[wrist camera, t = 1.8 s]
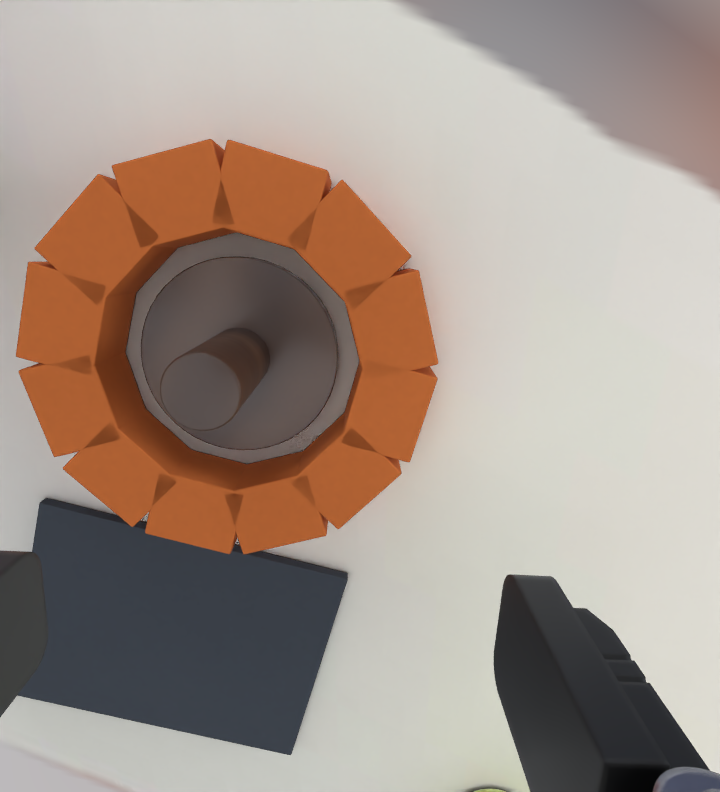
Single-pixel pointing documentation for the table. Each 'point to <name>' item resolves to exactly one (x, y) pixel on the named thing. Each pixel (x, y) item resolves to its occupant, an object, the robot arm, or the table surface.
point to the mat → (179, 629)
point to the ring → (114, 381)
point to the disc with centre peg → (239, 352)
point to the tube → (489, 790)
